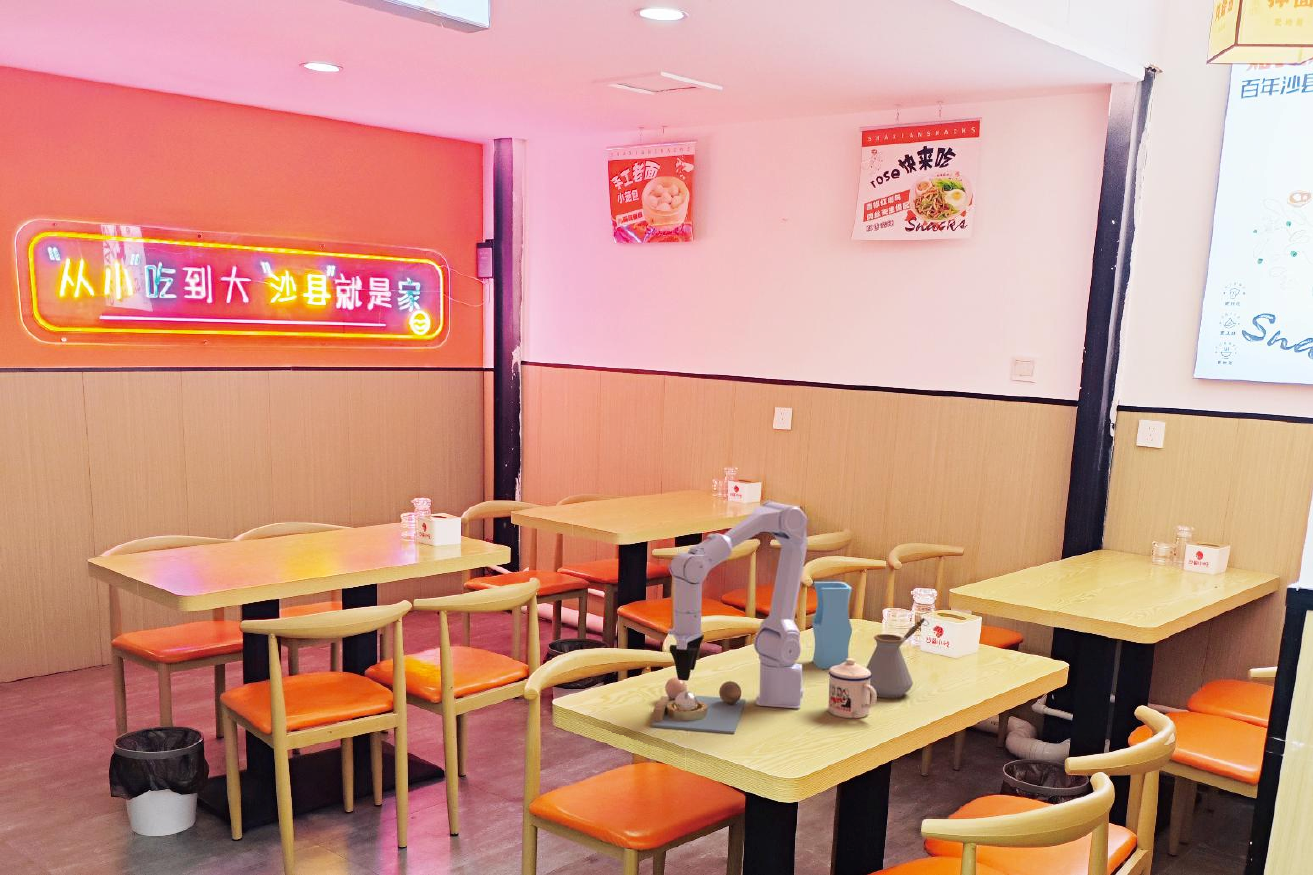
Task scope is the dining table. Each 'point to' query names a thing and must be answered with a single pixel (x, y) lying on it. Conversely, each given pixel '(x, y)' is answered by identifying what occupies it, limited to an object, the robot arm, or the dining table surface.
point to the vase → (831, 624)
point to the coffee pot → (890, 665)
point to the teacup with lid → (850, 690)
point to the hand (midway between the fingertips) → (686, 674)
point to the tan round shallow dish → (686, 712)
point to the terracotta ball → (675, 687)
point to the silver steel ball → (686, 701)
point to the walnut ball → (730, 692)
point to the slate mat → (717, 719)
